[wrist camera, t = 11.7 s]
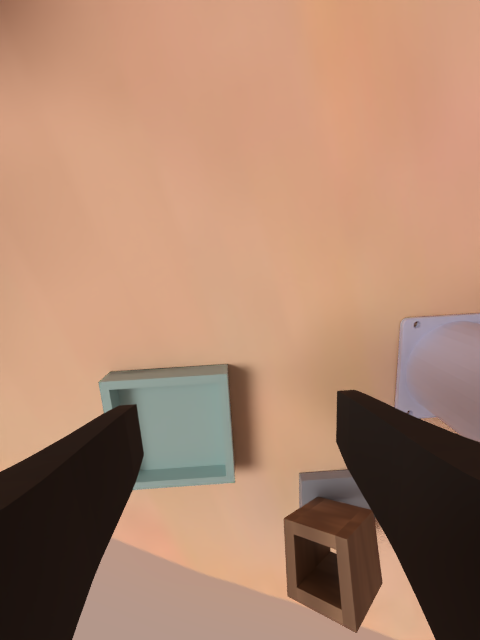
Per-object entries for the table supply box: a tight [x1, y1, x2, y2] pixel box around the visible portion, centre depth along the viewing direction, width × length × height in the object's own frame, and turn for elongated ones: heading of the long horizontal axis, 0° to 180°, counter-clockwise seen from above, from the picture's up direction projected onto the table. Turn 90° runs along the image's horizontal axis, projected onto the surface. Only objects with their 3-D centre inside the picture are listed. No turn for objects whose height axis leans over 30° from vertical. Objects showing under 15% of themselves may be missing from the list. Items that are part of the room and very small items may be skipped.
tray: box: [99, 364, 235, 490], centre depth 20 cm, size 9×9×2 cm
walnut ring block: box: [284, 497, 382, 633], centre depth 18 cm, size 4×4×5 cm
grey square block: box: [299, 470, 375, 520], centre depth 21 cm, size 6×6×4 cm
